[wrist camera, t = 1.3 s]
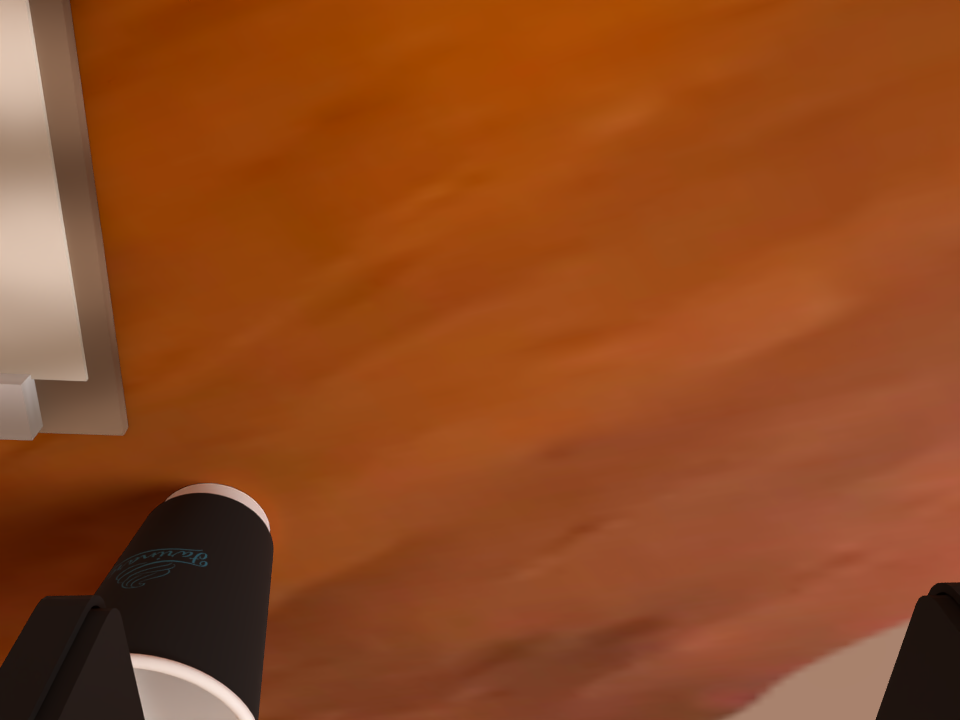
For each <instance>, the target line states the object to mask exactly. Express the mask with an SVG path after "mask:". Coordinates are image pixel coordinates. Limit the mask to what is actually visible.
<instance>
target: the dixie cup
mask: <svg viewBox="0 0 960 720" xmlns="http://www.w3.org/2000/svg"><path fill="white" fill-rule="evenodd" d="M272 561H273V541H272V537H271V534H270V526H269V522H268V519H267V517H266V514H265V513H264V511H263V510H262V508H261V507H260V506H259V505H258V503H257V502H256V501H254V500H253V499H252V498H251V497H249V496H248V495H246V494H245V493H243V492H241V491H239V490H237V489H235V488H232V487H229V486H225V485H220V484H212V483H204V484H195V485H191V486H187V487H184V488H182V489H180V490H178V491H176V492H175V493H173V494H172V495H171V496H169V497H168V498H167V499H166V501H165V502H163V503H162V504H160V505H159V506H157V507H156V508H155V509H154V510H153V511H152V512H151V513H150V514H149V516H148V517H147V519H146V520H145V521H144V523H143V524H142V526H141V527H140V529H139V530H138V532H137V533H136V535H135V536H134V537H133V539H132V540H131V542H130V543H129V545H128V546H127V548H126V549H125V551H124V552H123V553H122V555H121V556H120V558H119V559H118V561H117V562H116V564H115V565H114V566H113V568H112V569H111V571H110V572H109V574H108V575H107V577H106V578H105V580H104V581H103V582H102V584H101V585H100V587H99V588H98V590H97V591H96V593H95V594H94V595H97V596H100V597H101V598H102V599H103V600H104V603H105V605H106V608H117V609H118V610H119V611H120V614H121V617H122V621H123V626H124V630H125V635H126V639H127V643H128V648H129V652H130V657H131V661H132V665H133V670H134V674H135V678H136V683H137V687H138V692H139V696H140V700H141V705H142V709H143V714H144V718H145V720H258V715H259V704H260V693H261V682H262V671H263V660H264V649H265V638H266V627H267V616H268V605H269V594H270V583H271V572H272Z"/></svg>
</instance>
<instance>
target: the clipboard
mask: <svg viewBox="0 0 960 720" xmlns="http://www.w3.org/2000/svg"><path fill="white" fill-rule="evenodd" d="M127 429H128V421H127V414H126V407H125V400H124V392H123V385H122V378H121V371H120V363H119V356H118V349H117V341H116V334H115V327H114V320H113V312H112V305H111V298H110V291H109V283H108V276H107V269H106V262H105V254H104V247H103V240H102V233H101V225H100V218H99V211H98V204H97V196H96V189H95V182H94V174H93V167H92V160H91V153H90V145H89V138H88V131H87V124H86V116H85V109H84V102H83V95H82V87H81V80H80V73H79V66H78V58H77V51H76V44H75V36H74V29H73V22H72V15H71V7H70V0H0V439H10V440H33V439H34V437H35V436H36V435H37V434H38V433H65V434H94V435H124V434H125V432H126V430H127Z"/></svg>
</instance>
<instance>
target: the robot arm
mask: <svg viewBox="0 0 960 720" xmlns="http://www.w3.org/2000/svg"><path fill="white" fill-rule="evenodd" d="M0 720H145V718H144V714H143V709H142V705H141V700H140V696H139V692H138V687H137V683H136V678H135V674H134V670H133V665H132V661H131V657H130V652H129V648H128V643H127V639H126V635H125V630H124V626H123V621H122V617H121V614H120V611H119V610H118V609H117V608H106V605H105V603H104V600H103V599H102V598H101V597H100V596H97V595H85V596H46V597H45V598H43V599H41V601H40V602H39V603H38V605H37V606H36V608H35V609H34V611H33V613H32V614H31V616H30V618H29V620H28V621H27V623H26V625H25V626H24V628H23V630H22V632H21V633H20V635H19V637H18V638H17V640H16V642H15V644H14V645H13V647H12V649H11V651H10V652H9V654H8V656H7V657H6V659H5V661H4V663H3V664H2V666H1V668H0ZM876 720H960V582H958V583H937V584H936V585H934V586H933V587H932V588H931V590H930V592H929V593H928V595H927V596H922V597H921V598H919V600H918V601H917V603H916V606H915V609H914V612H913V614H912V617H911V620H910V623H909V626H908V629H907V632H906V635H905V638H904V640H903V643H902V646H901V649H900V651H899V655H898V657H897V660H896V663H895V666H894V669H893V672H892V674H891V677H890V680H889V683H888V686H887V689H886V691H885V694H884V697H883V700H882V703H881V706H880V709H879V711H878V714H877V717H876Z"/></svg>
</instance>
